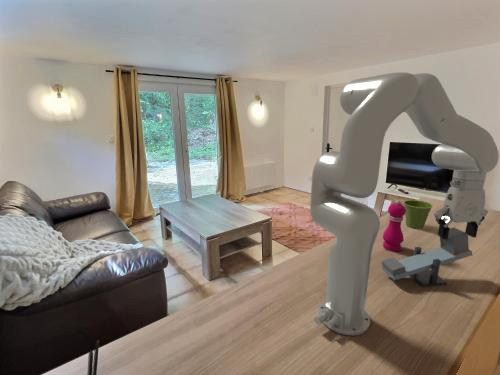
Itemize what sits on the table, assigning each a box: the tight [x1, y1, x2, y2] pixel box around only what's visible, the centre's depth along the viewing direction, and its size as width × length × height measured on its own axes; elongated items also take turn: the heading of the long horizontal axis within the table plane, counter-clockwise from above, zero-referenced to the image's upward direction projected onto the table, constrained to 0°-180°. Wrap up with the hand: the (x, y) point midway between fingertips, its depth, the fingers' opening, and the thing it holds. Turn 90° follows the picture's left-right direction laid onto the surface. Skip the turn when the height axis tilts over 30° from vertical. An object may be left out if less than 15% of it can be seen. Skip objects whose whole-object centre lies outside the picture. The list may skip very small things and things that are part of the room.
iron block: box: [439, 227, 470, 255], centre depth 84 cm, size 5×5×6 cm
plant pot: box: [403, 199, 434, 230], centre depth 124 cm, size 12×12×11 cm
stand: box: [409, 246, 448, 288], centre depth 85 cm, size 8×10×8 cm
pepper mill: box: [382, 199, 406, 252], centre depth 103 cm, size 7×7×20 cm
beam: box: [381, 246, 473, 281], centre depth 84 cm, size 26×6×4 cm, turn 96°
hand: (456, 236), depth 84 cm, fingers open, 9 cm apart
